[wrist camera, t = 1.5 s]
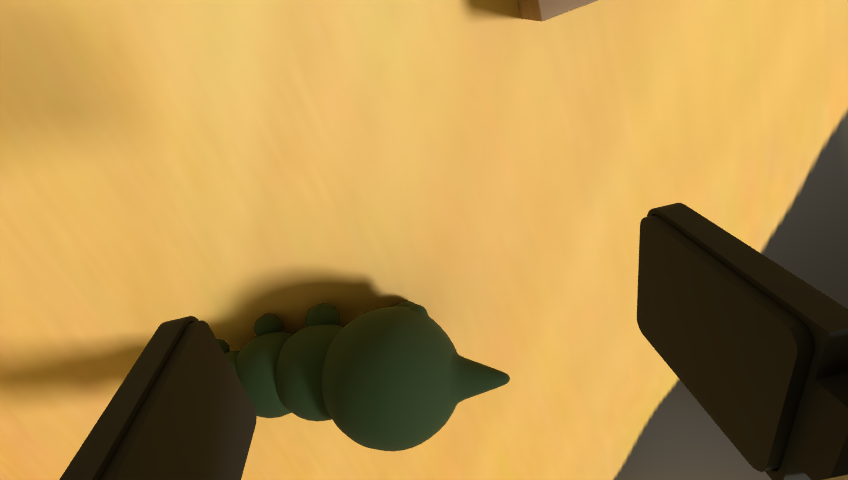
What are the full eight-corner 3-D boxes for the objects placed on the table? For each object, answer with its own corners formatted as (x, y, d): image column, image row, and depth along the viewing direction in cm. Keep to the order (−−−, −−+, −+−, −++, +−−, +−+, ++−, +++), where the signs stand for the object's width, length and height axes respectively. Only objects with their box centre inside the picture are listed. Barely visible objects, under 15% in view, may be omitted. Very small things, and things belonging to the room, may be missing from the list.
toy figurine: (218, 387, 40) (496, 344, 38) (84, 666, 24) (560, 611, 22) (171, 304, 36) (483, 251, 34) (-38, 577, 19) (552, 500, 17)
